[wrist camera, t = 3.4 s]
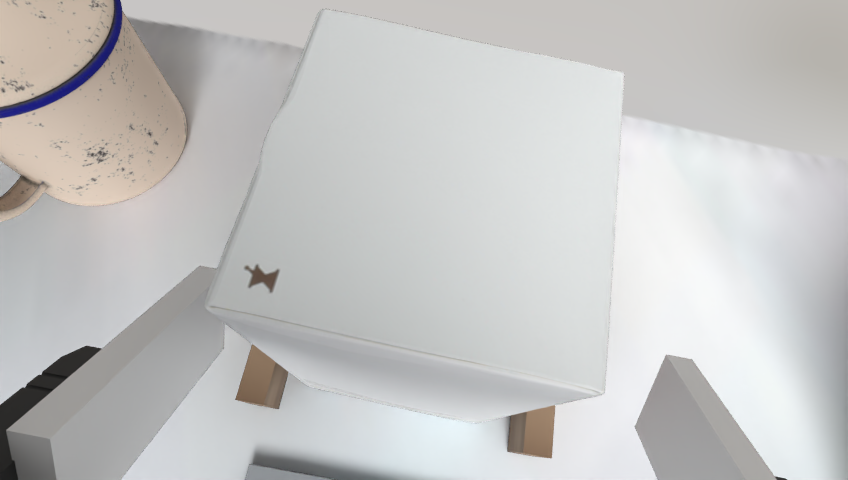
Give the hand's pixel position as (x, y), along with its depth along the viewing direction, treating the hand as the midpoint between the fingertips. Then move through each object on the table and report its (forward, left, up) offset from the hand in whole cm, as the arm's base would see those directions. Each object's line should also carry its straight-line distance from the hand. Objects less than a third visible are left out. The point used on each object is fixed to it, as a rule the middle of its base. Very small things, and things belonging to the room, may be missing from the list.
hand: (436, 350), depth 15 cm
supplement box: (-3, +2, -11) cm, 11 cm away
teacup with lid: (-21, -6, -10) cm, 24 cm away
